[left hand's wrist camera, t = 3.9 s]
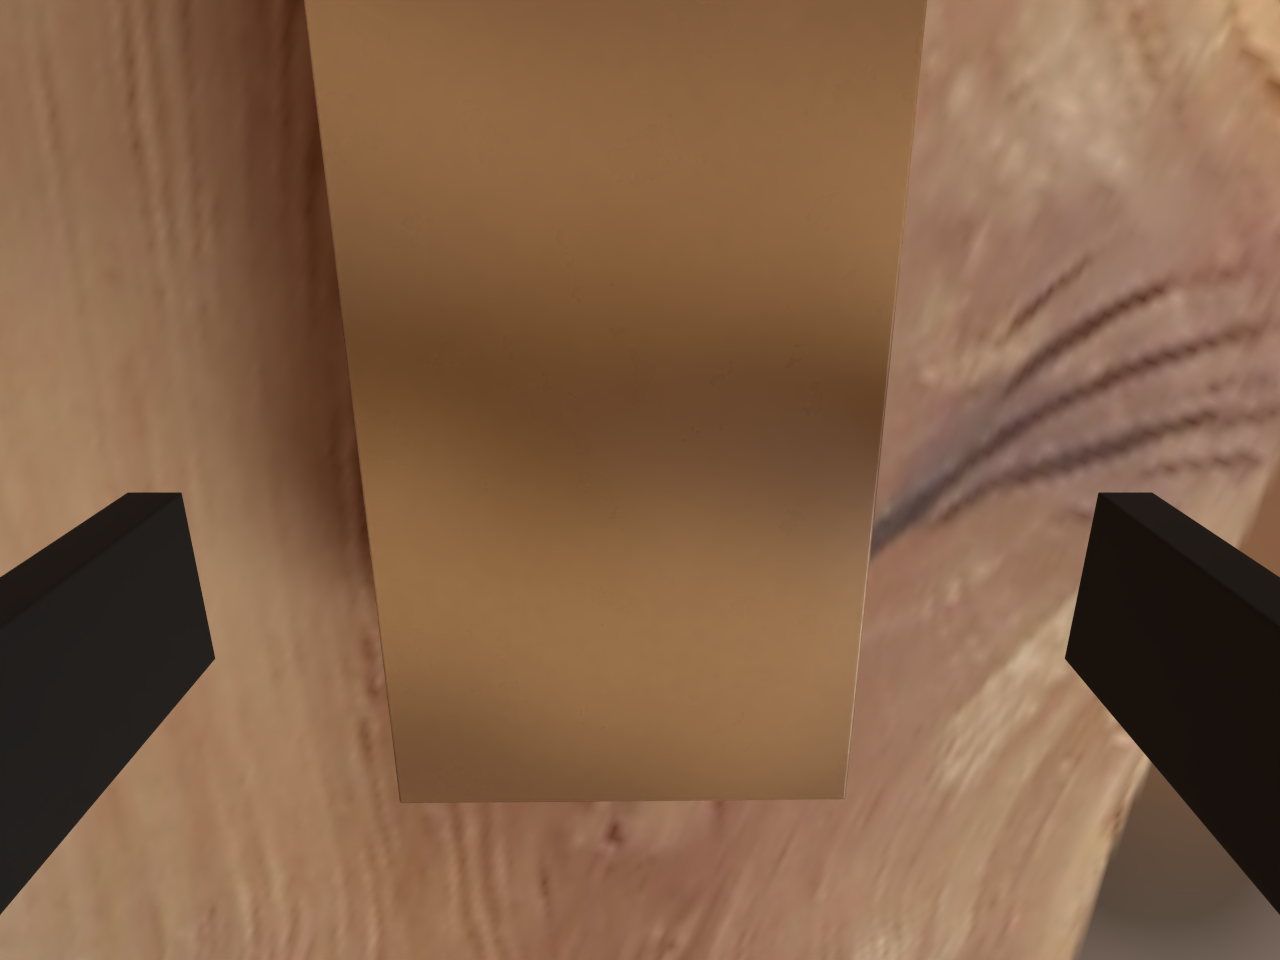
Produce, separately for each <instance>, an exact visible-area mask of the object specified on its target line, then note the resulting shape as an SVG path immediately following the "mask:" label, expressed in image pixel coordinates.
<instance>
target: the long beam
mask: <svg viewBox="0 0 1280 960" xmlns="http://www.w3.org/2000/svg"><path fill="white" fill-rule="evenodd" d="M926 6H927V0H304V7H305V15H306V24H307V32H308V40H309V49H310V57H311V65H312V74H313V82H314V90H315V99H316V107H317V115H318V124H319V132H320V140H321V149H322V157H323V165H324V174H325V182H326V190H327V199H328V207H329V215H330V224H331V232H332V240H333V248H334V257H335V265H336V273H337V282H338V290H339V298H340V307H341V315H342V323H343V332H344V340H345V348H346V357H347V365H348V373H349V382H350V390H351V398H352V407H353V415H354V423H355V432H356V440H357V448H358V457H359V465H360V473H361V482H362V490H363V498H364V506H365V515H366V523H367V531H368V540H369V548H370V556H371V565H372V573H373V581H374V590H375V598H376V606H377V615H378V623H379V631H380V640H381V648H382V656H383V665H384V673H385V681H386V690H387V698H388V706H389V715H390V723H391V731H392V740H393V748H394V756H395V764H396V773H397V781H398V789H399V798H400V802H401V803H451V802H569V801H687V800H805V799H845V796H846V786H847V777H848V767H849V757H850V747H851V738H852V728H853V718H854V708H855V699H856V689H857V679H858V669H859V660H860V650H861V640H862V630H863V620H864V611H865V601H866V591H867V581H868V572H869V562H870V552H871V542H872V533H873V523H874V513H875V503H876V494H877V484H878V474H879V464H880V455H881V445H882V435H883V425H884V416H885V406H886V396H887V386H888V377H889V367H890V357H891V347H892V338H893V328H894V318H895V308H896V299H897V289H898V279H899V269H900V260H901V250H902V240H903V230H904V221H905V211H906V201H907V191H908V182H909V172H910V162H911V152H912V143H913V133H914V123H915V113H916V104H917V94H918V84H919V74H920V65H921V55H922V45H923V35H924V26H925V16H926Z"/></svg>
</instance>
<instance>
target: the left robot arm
mask: <svg viewBox="0 0 1280 960" xmlns="http://www.w3.org/2000/svg"><path fill="white" fill-rule="evenodd" d="M214 659H215V656H214V651H213V646H212V641H211V636H210V631H209V626H208V621H207V616H206V611H205V606H204V601H203V597H202V592H201V587H200V582H199V577H198V572H197V567H196V562H195V557H194V552H193V547H192V542H191V537H190V532H189V528H188V523H187V518H186V513H185V508H184V503H183V498H182V493H127V494H125V495H124V496H122V497H121V498H119V499H118V500H116V501H115V502H113V503H112V504H110V505H109V506H107V507H106V508H104V509H103V510H101V511H100V512H98V513H97V514H95V515H94V516H92V517H90V518H89V519H87V520H86V521H84V522H83V523H81V524H80V525H78V526H77V527H75V528H74V529H72V530H71V531H69V532H68V533H66V534H65V535H63V536H62V537H60V538H59V539H57V540H56V541H54V542H53V543H51V544H50V545H48V546H47V547H45V548H44V549H42V550H41V551H39V552H38V553H36V554H35V555H33V556H32V557H30V558H29V559H27V560H26V561H24V562H23V563H21V564H20V565H18V566H17V567H15V568H14V569H12V570H11V571H9V572H8V573H6V574H5V575H3V576H2V577H0V914H1V913H2V912H3V911H4V910H5V908H6V907H7V906H8V905H9V904H10V902H11V901H12V900H13V899H14V898H15V896H16V895H17V894H18V893H19V892H20V890H21V889H22V888H23V887H24V886H25V885H26V883H27V882H28V881H29V880H30V879H31V877H32V876H33V875H34V874H35V873H36V871H37V870H38V869H39V868H40V867H41V865H42V864H43V863H44V862H45V861H46V860H47V858H48V857H49V856H50V855H51V854H52V852H53V851H54V850H55V849H56V848H57V846H58V845H59V844H60V843H61V842H62V840H63V839H64V838H65V837H66V836H67V834H68V833H69V832H70V831H71V830H72V829H73V827H74V826H75V825H76V824H77V823H78V821H79V820H80V819H81V818H82V817H83V815H84V814H85V813H86V812H87V811H88V809H89V808H90V807H91V806H92V805H93V803H94V802H95V801H96V800H97V799H98V798H99V796H100V795H101V794H102V793H103V792H104V790H105V789H106V788H107V787H108V786H109V784H110V783H111V782H112V781H113V780H114V778H115V777H116V776H117V775H118V774H119V773H120V771H121V770H122V769H123V768H124V767H125V765H126V764H127V763H128V762H129V761H130V759H131V758H132V757H133V756H134V755H135V753H136V752H137V751H138V750H139V749H140V747H141V746H142V745H143V744H144V743H145V742H146V740H147V739H148V738H149V737H150V736H151V734H152V733H153V732H154V731H155V730H156V728H157V727H158V726H159V725H160V724H161V722H162V721H163V720H164V719H165V718H166V716H167V715H168V714H169V713H170V712H171V711H172V709H173V708H174V707H175V706H176V705H177V703H178V702H179V701H180V700H181V699H182V697H183V696H184V695H185V694H186V693H187V691H188V690H189V689H190V688H191V687H192V686H193V684H194V683H195V682H196V681H197V680H198V678H199V677H200V676H201V675H202V674H203V672H204V671H205V670H206V669H207V668H208V666H209V665H210V664H211V663H212V662H213V660H214ZM1065 659H1066V660H1067V662H1068V663H1069V664H1070V665H1071V666H1072V668H1073V669H1074V670H1075V671H1076V672H1077V674H1078V675H1079V676H1080V677H1081V678H1082V680H1083V681H1084V682H1085V683H1086V684H1087V686H1088V687H1089V688H1090V689H1091V690H1092V691H1093V693H1094V694H1095V695H1096V696H1097V697H1098V699H1099V700H1100V701H1101V702H1102V703H1103V705H1104V706H1105V707H1106V708H1107V709H1108V711H1109V712H1110V713H1111V714H1112V715H1113V716H1114V718H1115V719H1116V720H1117V721H1118V722H1119V724H1120V725H1121V726H1122V727H1123V728H1124V730H1125V731H1126V732H1127V733H1128V734H1129V736H1130V737H1131V738H1132V739H1133V740H1134V742H1135V743H1136V744H1137V745H1138V746H1139V747H1140V749H1141V750H1142V751H1143V752H1144V753H1145V755H1146V756H1147V757H1148V758H1149V759H1150V761H1151V762H1152V763H1153V764H1154V765H1155V767H1156V768H1157V769H1158V770H1159V771H1160V772H1161V774H1162V775H1163V776H1164V777H1165V778H1166V780H1167V781H1168V782H1169V783H1170V784H1171V786H1172V787H1173V788H1174V789H1175V790H1176V792H1177V793H1178V794H1179V795H1180V796H1181V798H1182V799H1183V800H1184V801H1185V802H1186V803H1187V805H1188V806H1189V807H1190V808H1191V809H1192V811H1193V812H1194V813H1195V814H1196V815H1197V817H1198V818H1199V819H1200V820H1201V821H1202V823H1203V824H1204V825H1205V826H1206V827H1207V829H1208V830H1209V831H1210V832H1211V833H1212V834H1213V836H1214V837H1215V838H1216V839H1217V840H1218V842H1219V843H1220V844H1221V845H1222V846H1223V848H1224V849H1225V850H1226V851H1227V852H1228V854H1229V855H1230V856H1231V857H1232V858H1233V859H1234V861H1235V862H1236V863H1237V864H1238V865H1239V867H1240V868H1241V869H1242V870H1243V871H1244V873H1245V874H1246V875H1247V876H1248V877H1249V879H1250V880H1251V881H1252V882H1253V883H1254V885H1255V886H1256V887H1257V888H1258V889H1259V890H1260V892H1261V893H1262V894H1263V895H1264V896H1265V898H1266V899H1267V900H1268V901H1269V902H1270V904H1271V905H1272V906H1273V907H1274V908H1275V910H1276V911H1277V912H1278V913H1279V914H1280V577H1278V576H1277V575H1275V574H1274V573H1272V572H1271V571H1269V570H1268V569H1266V568H1265V567H1263V566H1262V565H1260V564H1259V563H1257V562H1256V561H1254V560H1253V559H1251V558H1250V557H1248V556H1247V555H1245V554H1244V553H1242V552H1241V551H1239V550H1238V549H1236V548H1235V547H1233V546H1232V545H1230V544H1229V543H1227V542H1226V541H1224V540H1223V539H1221V538H1220V537H1218V536H1217V535H1215V534H1214V533H1212V532H1211V531H1209V530H1208V529H1206V528H1205V527H1203V526H1202V525H1200V524H1199V523H1197V522H1196V521H1194V520H1193V519H1191V518H1190V517H1188V516H1186V515H1185V514H1183V513H1182V512H1180V511H1179V510H1177V509H1176V508H1174V507H1173V506H1171V505H1170V504H1168V503H1167V502H1165V501H1164V500H1162V499H1161V498H1159V497H1158V496H1156V495H1155V494H1153V493H1098V498H1097V503H1096V508H1095V513H1094V518H1093V523H1092V528H1091V532H1090V537H1089V542H1088V547H1087V552H1086V557H1085V562H1084V567H1083V572H1082V577H1081V582H1080V587H1079V592H1078V597H1077V601H1076V606H1075V611H1074V616H1073V621H1072V626H1071V631H1070V636H1069V641H1068V646H1067V651H1066V656H1065Z"/></svg>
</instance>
